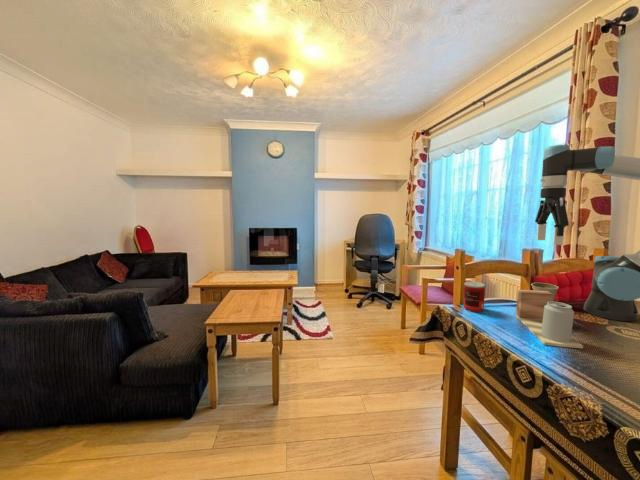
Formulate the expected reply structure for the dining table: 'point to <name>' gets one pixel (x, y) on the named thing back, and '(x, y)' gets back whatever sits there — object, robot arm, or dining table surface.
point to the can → (557, 321)
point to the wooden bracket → (537, 315)
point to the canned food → (474, 296)
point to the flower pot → (545, 288)
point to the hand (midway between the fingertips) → (548, 242)
